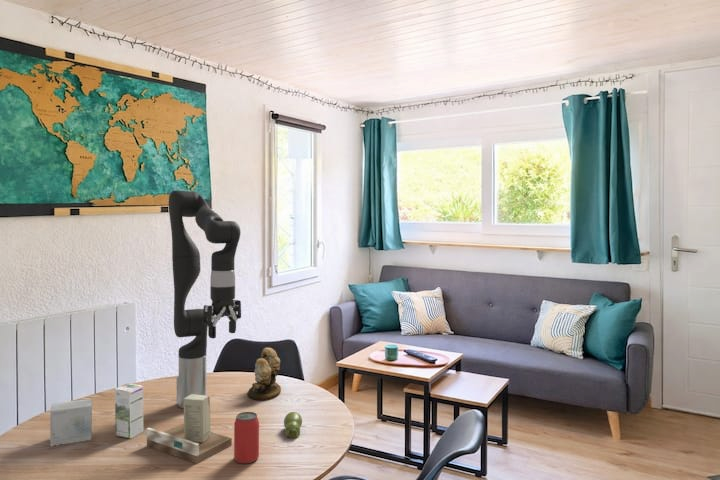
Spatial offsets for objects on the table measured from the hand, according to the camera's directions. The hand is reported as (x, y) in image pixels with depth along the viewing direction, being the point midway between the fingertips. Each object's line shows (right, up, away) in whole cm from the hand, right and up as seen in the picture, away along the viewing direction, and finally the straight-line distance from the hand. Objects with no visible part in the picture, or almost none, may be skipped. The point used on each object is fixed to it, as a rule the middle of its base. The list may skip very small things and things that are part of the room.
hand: (222, 335), depth 163 cm
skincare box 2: (-3, -27, -15) cm, 31 cm away
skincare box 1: (-41, -28, -13) cm, 51 cm away
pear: (+23, -29, -5) cm, 37 cm away
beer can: (+13, -30, -23) cm, 39 cm away
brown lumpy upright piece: (+8, -27, +30) cm, 41 cm away
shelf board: (-5, -29, -15) cm, 33 cm away
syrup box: (-26, -28, -8) cm, 39 cm away
